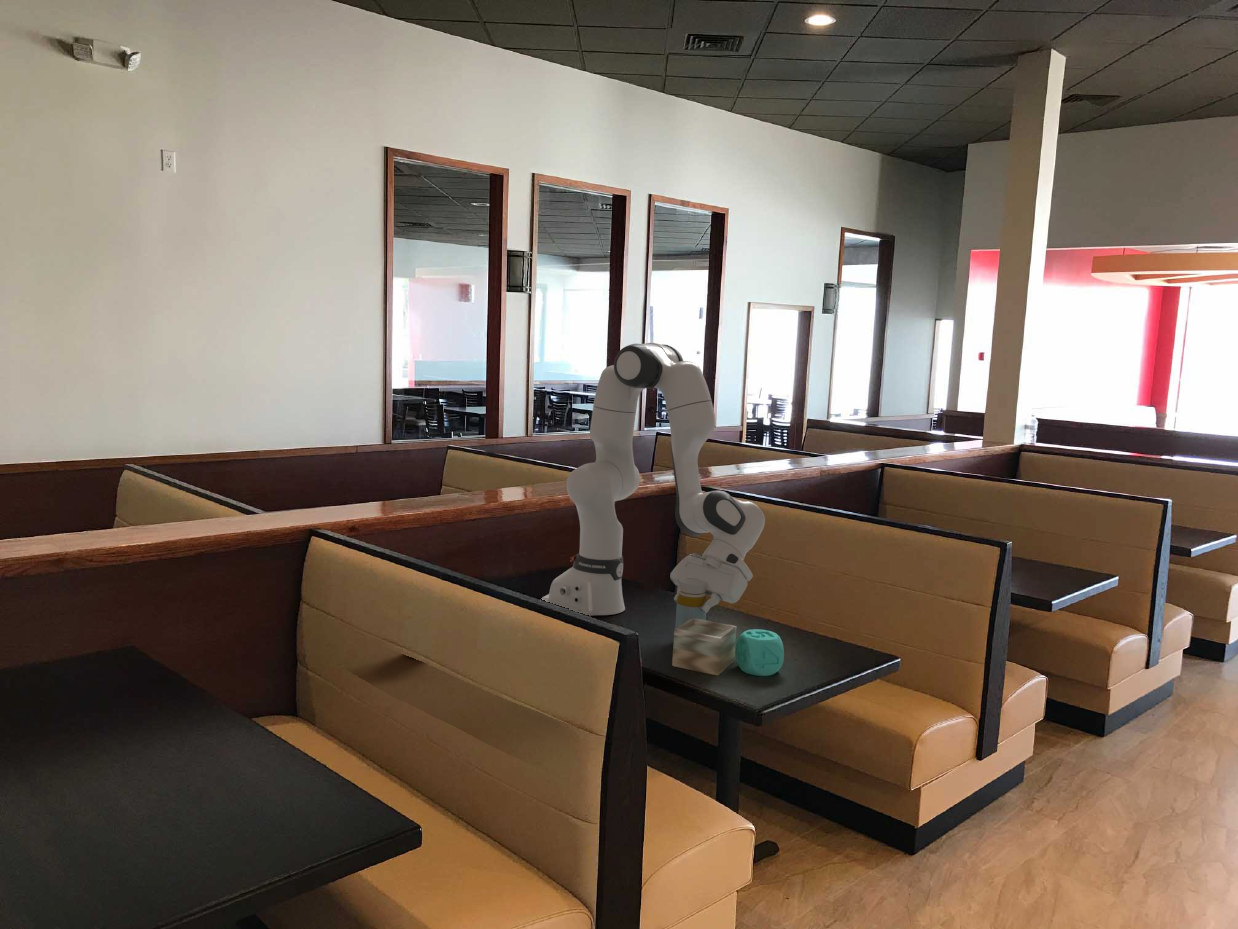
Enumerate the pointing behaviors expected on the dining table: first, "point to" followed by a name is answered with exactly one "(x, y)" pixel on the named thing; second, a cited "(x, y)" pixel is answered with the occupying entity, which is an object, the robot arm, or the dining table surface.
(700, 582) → the bottle
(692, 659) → the open square box
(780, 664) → the decorative dice
